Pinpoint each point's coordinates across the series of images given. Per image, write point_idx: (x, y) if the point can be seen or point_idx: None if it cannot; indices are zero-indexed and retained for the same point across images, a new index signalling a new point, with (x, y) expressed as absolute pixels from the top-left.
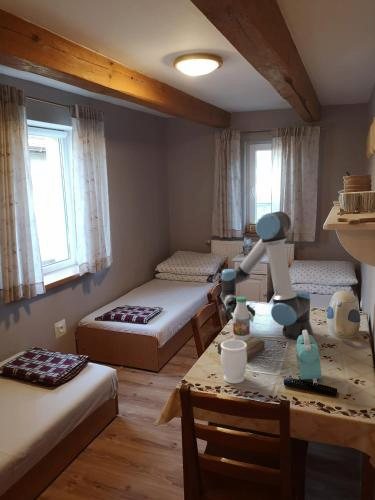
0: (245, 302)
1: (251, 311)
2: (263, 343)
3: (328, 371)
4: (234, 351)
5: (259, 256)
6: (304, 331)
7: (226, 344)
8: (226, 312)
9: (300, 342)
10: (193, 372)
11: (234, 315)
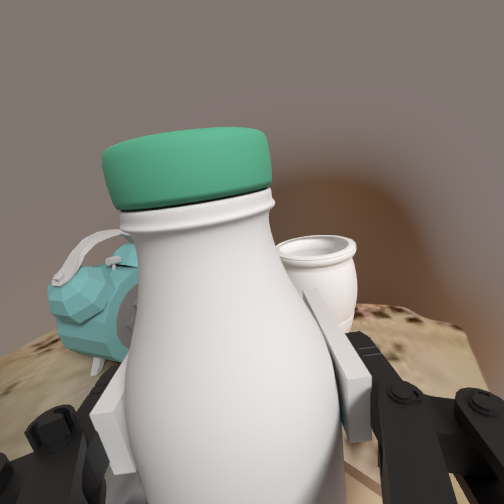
0: (166, 206)
1: (56, 426)
2: None
3: (51, 377)
4: (310, 239)
5: None
6: (103, 232)
7: (340, 265)
8: (467, 406)
9: (109, 278)
10: (471, 366)
11: (316, 316)
